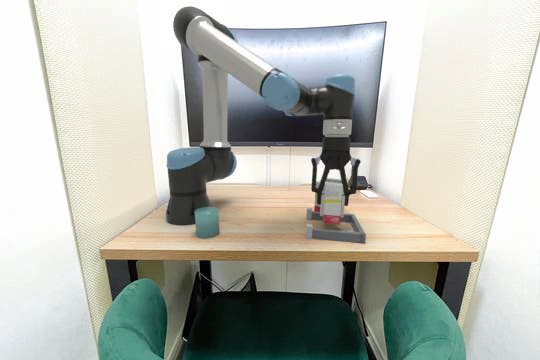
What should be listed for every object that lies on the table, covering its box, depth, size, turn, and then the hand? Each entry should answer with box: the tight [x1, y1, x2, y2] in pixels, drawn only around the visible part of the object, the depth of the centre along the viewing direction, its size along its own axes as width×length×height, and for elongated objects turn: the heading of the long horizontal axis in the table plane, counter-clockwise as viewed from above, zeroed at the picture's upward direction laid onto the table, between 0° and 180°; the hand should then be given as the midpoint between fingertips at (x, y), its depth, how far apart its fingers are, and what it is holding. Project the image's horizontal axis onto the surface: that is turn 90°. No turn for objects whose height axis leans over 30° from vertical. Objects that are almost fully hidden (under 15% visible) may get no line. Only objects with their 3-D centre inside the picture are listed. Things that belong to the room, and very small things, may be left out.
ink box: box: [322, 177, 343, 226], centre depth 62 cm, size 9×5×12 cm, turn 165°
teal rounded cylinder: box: [194, 206, 220, 240], centre depth 60 cm, size 6×6×7 cm
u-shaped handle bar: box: [305, 207, 367, 244], centre depth 64 cm, size 15×15×4 cm
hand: (331, 215), depth 63 cm, fingers closed on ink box, 5 cm apart
